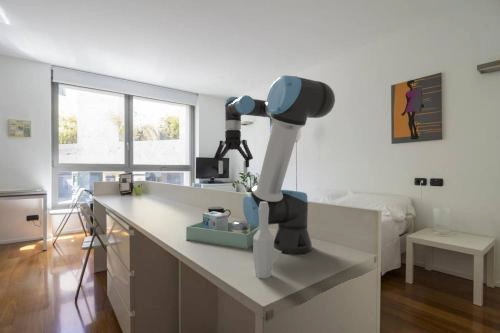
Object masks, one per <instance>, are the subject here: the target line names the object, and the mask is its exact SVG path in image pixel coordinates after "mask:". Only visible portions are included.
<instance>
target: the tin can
mask: <svg viewBox="0 0 500 333" xmlns="http://www.w3.org/2000/svg"><path fill="white" fill-rule="evenodd" d="M230 223H231V232H235V233H242V234H247V233H249V232H250V224H249V223H248V222H247V220H244V219H243V220H242V219H240V220H239V219H238V220H233V221H231V222H230Z"/></svg>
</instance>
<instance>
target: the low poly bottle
mask: <svg viewBox="0 0 500 333" xmlns="http://www.w3.org/2000/svg"><path fill="white" fill-rule="evenodd" d="M258 213H259V230H258V231H257V233H256V234H255V235H254V238H253V245H252V249H253V250H252V253H253V265H254V271H255V272H254V273H255V277H256V278H258V279H269V278H271V276H272V266H273V259H274V239H275V236H273V234H272V233H271V231H270V230H269V225H268V216H269V206H268V202H260V204H259V208H258Z"/></svg>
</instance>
